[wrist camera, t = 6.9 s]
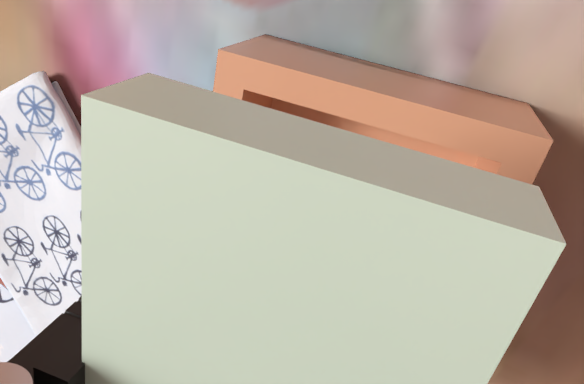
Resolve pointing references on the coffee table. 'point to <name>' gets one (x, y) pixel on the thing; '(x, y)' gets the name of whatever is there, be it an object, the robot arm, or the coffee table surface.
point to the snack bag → (37, 210)
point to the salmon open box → (386, 105)
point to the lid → (291, 248)
